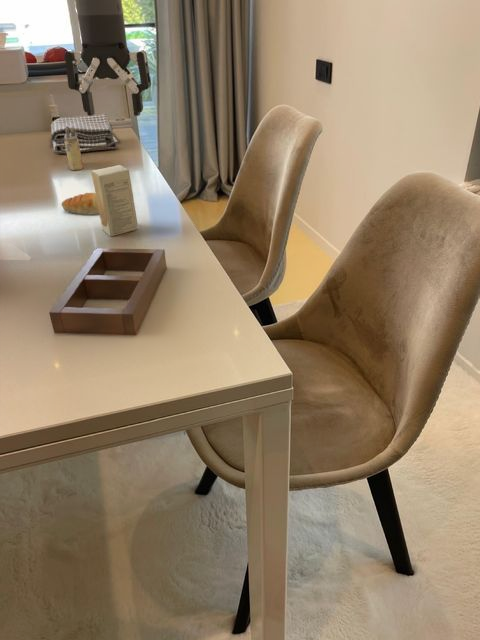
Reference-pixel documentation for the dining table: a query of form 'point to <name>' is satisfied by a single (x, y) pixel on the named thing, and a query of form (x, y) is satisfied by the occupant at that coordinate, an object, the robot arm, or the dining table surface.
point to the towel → (84, 133)
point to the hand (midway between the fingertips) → (114, 115)
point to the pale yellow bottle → (73, 149)
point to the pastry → (82, 204)
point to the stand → (110, 292)
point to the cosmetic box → (115, 199)
